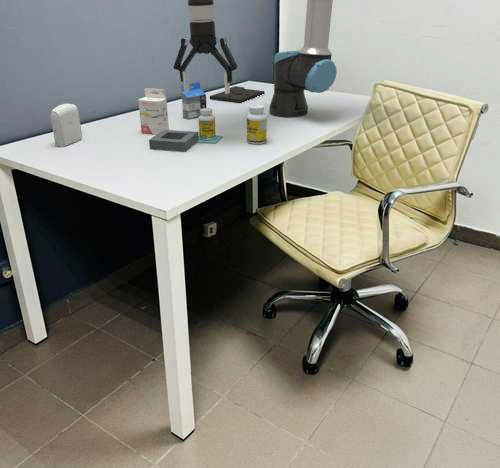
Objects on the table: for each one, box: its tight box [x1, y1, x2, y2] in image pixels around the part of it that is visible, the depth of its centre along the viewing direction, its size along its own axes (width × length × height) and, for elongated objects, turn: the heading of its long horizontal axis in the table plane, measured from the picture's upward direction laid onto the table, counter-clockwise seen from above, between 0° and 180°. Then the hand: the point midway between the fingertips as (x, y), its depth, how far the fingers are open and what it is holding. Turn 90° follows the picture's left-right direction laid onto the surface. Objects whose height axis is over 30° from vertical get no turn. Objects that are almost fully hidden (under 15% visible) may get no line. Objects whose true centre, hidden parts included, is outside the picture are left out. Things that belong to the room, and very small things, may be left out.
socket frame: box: [148, 129, 199, 153], centre depth 163 cm, size 12×12×3 cm
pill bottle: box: [246, 104, 268, 145], centre depth 163 cm, size 6×6×12 cm
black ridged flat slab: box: [209, 85, 266, 104], centre depth 227 cm, size 16×3×21 cm
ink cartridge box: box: [138, 87, 170, 136], centre depth 173 cm, size 9×5×15 cm, turn 71°
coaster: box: [196, 134, 223, 145], centre depth 168 cm, size 8×8×1 cm
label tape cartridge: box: [180, 81, 208, 120], centre depth 193 cm, size 9×4×12 cm, turn 131°
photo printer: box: [49, 103, 83, 148], centre depth 164 cm, size 10×4×12 cm, turn 158°
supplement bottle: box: [197, 107, 217, 140], centre depth 166 cm, size 5×5×10 cm
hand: (207, 92), depth 162 cm, fingers open, 13 cm apart
